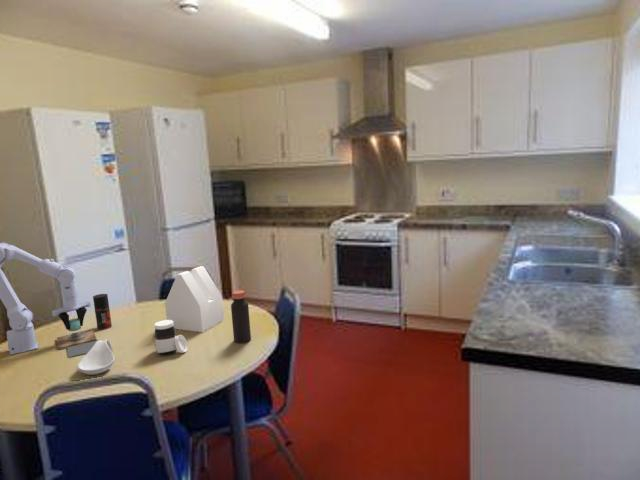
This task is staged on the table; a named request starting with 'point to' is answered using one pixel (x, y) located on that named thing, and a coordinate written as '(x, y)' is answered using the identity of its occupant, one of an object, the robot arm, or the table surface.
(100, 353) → the spoon rest
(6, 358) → the table surface
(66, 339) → the post board
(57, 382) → the table surface
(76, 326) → the teal ovoid with tab
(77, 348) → the mat
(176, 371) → the table surface
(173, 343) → the spread jar
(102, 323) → the deodorant
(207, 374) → the table surface
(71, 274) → the robot arm
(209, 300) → the white peaked block
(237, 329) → the bottle
